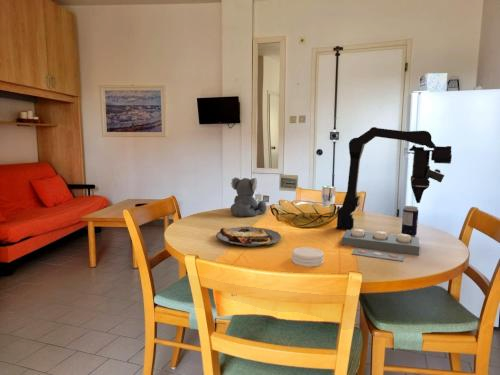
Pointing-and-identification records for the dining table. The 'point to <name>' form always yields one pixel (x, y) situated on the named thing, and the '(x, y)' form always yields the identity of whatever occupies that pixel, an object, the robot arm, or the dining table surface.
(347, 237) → the button board
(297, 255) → the grey stacked discs
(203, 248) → the dining table surface
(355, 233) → the button left
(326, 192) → the beer glass
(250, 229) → the food plate
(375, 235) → the button middle
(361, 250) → the pattern card
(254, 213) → the koala plush
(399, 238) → the button right
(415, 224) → the beverage can
